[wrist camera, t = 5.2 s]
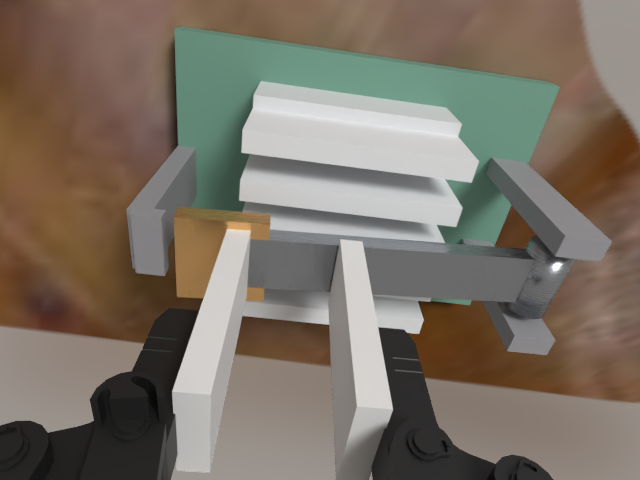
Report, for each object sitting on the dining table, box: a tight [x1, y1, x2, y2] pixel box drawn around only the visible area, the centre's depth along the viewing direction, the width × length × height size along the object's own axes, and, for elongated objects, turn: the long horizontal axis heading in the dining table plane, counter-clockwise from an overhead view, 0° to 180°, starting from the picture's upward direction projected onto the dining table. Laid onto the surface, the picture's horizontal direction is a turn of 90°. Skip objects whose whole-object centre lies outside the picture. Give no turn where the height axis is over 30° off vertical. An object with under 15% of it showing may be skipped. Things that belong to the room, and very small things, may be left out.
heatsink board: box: [127, 26, 612, 355], centre depth 18 cm, size 16×12×8 cm
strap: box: [174, 207, 575, 319], centre depth 16 cm, size 14×3×2 cm, turn 82°
